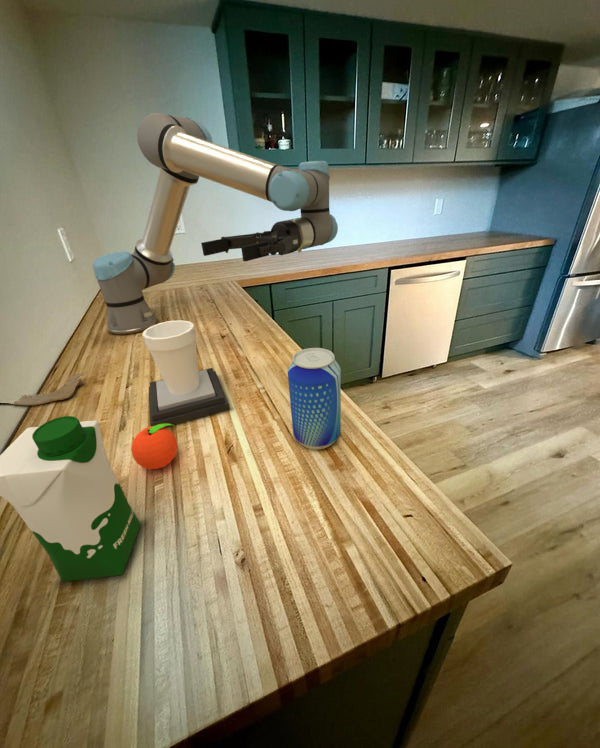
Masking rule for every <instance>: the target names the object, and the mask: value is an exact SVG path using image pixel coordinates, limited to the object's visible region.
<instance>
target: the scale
mask: <svg viewBox="0 0 600 748" xmlns="http://www.w3.org/2000/svg"><path fill="white" fill-rule="evenodd" d="M202 370H203V369H201V370H200V371H202ZM204 370H207V372H208V375H209V378H210V380H211V383H212V386H213V389H214V391H215V395H216V396H214V397H210V398H207V399H203V400H199V401H195V402H191V403H187V404H184V405H180V406H176V407H172V408H168V409H164V410H161V411H159V409H158V400H157V387H156V381H159V380H160V379H158V380H154V381H150V382H149V386H148V400H149V425H150V427H151V426H155V425H158V424H165V423H167V424H172V425H168V426H165V427H164V428H168V427H174V426H173V425H175V426H176V425H180V424H183V423H187V422H191V421H193V420H197V419H201V418H205V417H208V416H212V415H215V414H216V415H217V414H219V413H224V412H226V411H230V404H229V401H228V398H227V397H226V394H225V391H224V389H223V386H222V383H221V382H220V379H219V377H218V374H217V372H216V370H214V369H213V367H210V368H205V369H204ZM161 380H163V378H162V379H161Z"/></svg>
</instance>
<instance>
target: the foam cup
mask: <svg viewBox="0 0 600 748" xmlns="http://www.w3.org/2000/svg"><path fill="white" fill-rule="evenodd" d="M142 339H143V342H144V344H145V347H146V348H147V349H148V352H149V353H150V355H151V357H152V359H153V362H154V364H155V366H156V368H157V370H158V372H159V374H160V376H161V378H162V379H163V380H164V382H165V384H166V386H167V388H168V390H169V392H170V393H171V394H175V395H182V394H187V393H190V392H192V391H194V390H196V389H197V388H198V386H199V373H198V371H199V364H198V352H197V341H196V340H197V333H196V329H195V324H194V323H193V322H191V321H189V320H182V319H179V320H169V321H164V322H163V321H162V322H159V323H156V324H155V325H153V326H151V327H149V328H148V329H146V330H144V331H142Z"/></svg>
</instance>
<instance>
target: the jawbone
mask: <svg viewBox="0 0 600 748" xmlns="http://www.w3.org/2000/svg"><path fill="white" fill-rule="evenodd" d="M84 375H85V372H79V373H75V374H74V375H72V376H70V377H69V378H68V379H67V380H66V381H65V383H64V384H63V385H62V386H61V387H60V388H58V389H55V390H54V391H51V392H50V391H48V392H41V393H38V394H28V395H27V394H22V395H21V396H22V397H21V398H20V399H19V402H18V401H15V402H14V404H13V406H14V405H15V406H25V407H27V406H28V407H29V406H31V407H32V406H33V407H34V406H41V405H45V404H48V403H52V402H57V401H64V400H68V399H69V398H71V397H72V396H73V395H74V394H75V391H76V389H77V387H79V386H82V385H83V383H84V381H83V379H82V378H80V377H83V376H84Z"/></svg>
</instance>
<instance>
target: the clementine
mask: <svg viewBox="0 0 600 748" xmlns="http://www.w3.org/2000/svg"><path fill="white" fill-rule="evenodd" d="M168 425H172V424H167V423H165V424H158V425H155V426H151V425H150V426H147V427H145V428H143V429H142V430H140V431H139V432H138V433H137V434H136V435H135V437H134V438H133V440H132V443H131V449H130V450H131V455H132V458H133V460H134V461H135V462H136V464H137V465H139V466H140V467H142V468H144V469H147V470H157V469H161V468H164V467H165V466H167V465H168V464H170V463H171V462H172V461H173V459H174V458H175V456H176V454H177V453H178V441H177V437H176V436H175V434H174V432H172V431H171V430H170V429H169V428H168V427H165V426H168ZM164 427H165V428H164ZM172 427H175V428H176V429H178V427H177V426H176V425H173V426H172Z"/></svg>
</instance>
